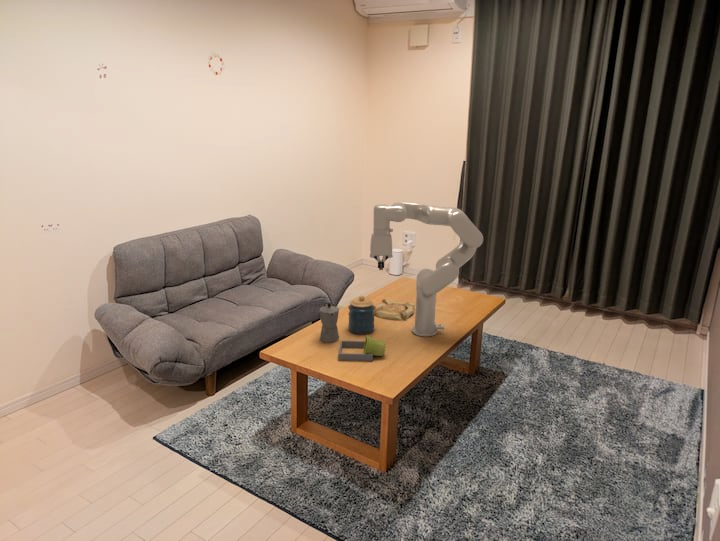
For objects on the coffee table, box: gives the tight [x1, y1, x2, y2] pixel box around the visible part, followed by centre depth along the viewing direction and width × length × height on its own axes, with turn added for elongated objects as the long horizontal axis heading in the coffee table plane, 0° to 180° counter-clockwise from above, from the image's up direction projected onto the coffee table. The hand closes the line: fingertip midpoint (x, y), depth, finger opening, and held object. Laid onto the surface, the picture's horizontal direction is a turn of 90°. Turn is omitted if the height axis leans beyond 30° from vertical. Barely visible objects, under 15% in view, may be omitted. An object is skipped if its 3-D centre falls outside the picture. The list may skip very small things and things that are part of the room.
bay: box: [337, 340, 374, 362], centre depth 228 cm, size 15×14×3 cm
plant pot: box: [362, 334, 386, 357], centre depth 226 cm, size 9×9×9 cm
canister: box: [347, 295, 376, 335], centre depth 252 cm, size 13×13×18 cm
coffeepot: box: [318, 302, 340, 344], centre depth 242 cm, size 15×9×18 cm, turn 16°
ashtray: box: [374, 298, 416, 322], centre depth 276 cm, size 24×24×5 cm
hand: (381, 269), depth 243 cm, fingers closed
